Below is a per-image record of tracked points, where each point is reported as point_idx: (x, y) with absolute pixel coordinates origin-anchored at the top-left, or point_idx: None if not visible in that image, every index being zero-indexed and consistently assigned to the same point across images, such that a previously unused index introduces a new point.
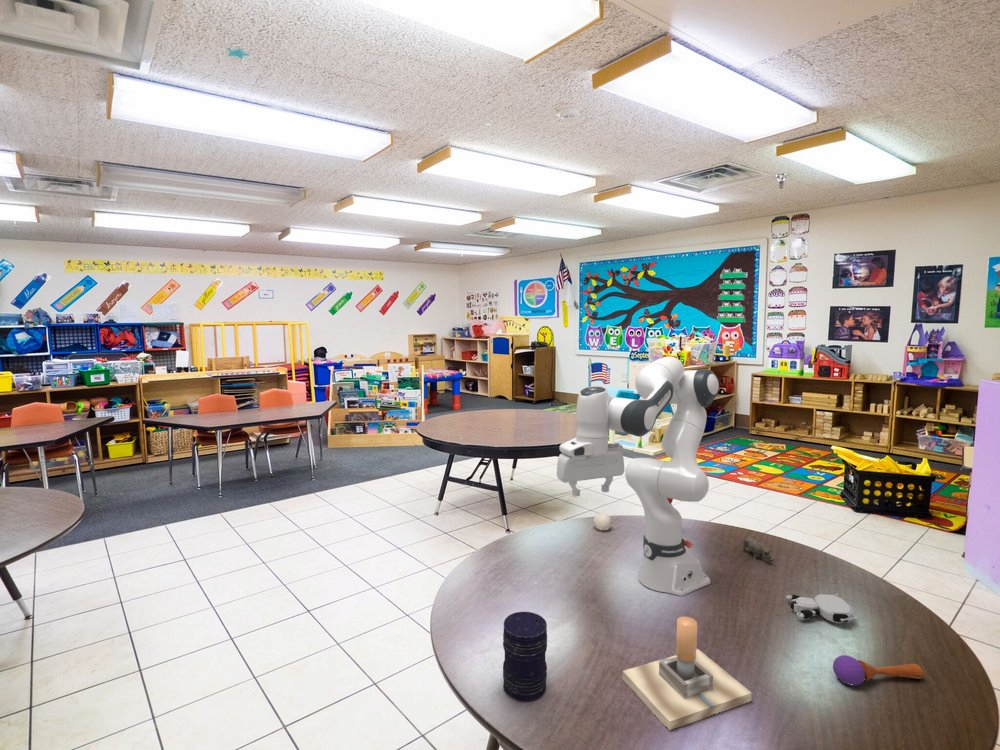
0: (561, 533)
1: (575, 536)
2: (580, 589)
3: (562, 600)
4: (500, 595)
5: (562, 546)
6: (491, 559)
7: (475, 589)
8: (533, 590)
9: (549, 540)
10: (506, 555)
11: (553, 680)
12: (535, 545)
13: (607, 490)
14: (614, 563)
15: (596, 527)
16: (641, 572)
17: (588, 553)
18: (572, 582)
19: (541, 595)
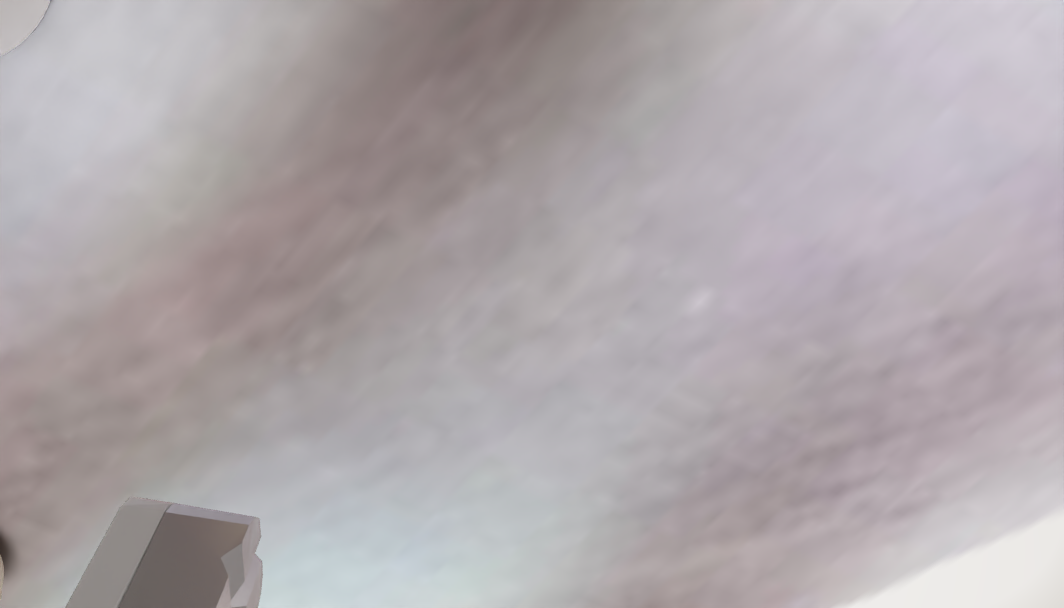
0: None
1: None
2: (503, 107)
3: (699, 62)
4: (980, 288)
5: (302, 508)
6: (747, 570)
7: (1046, 397)
8: (775, 239)
9: (334, 578)
10: (649, 566)
11: None
12: (439, 573)
13: (163, 524)
14: (102, 239)
15: (2, 561)
16: (7, 3)
17: (198, 393)
18: (496, 196)
19: (773, 173)
